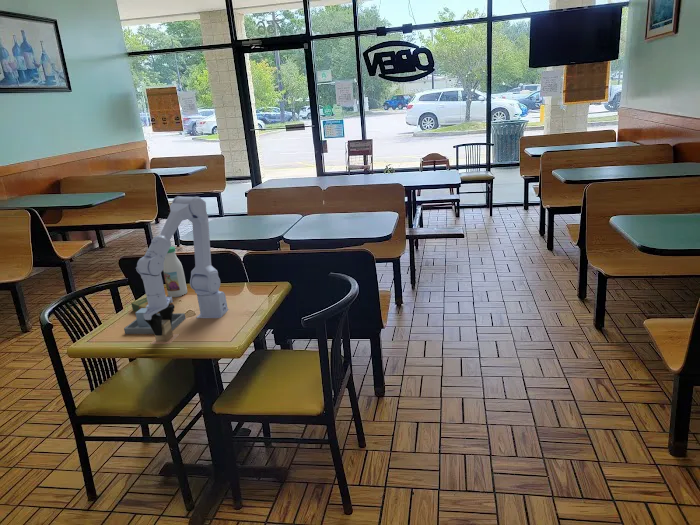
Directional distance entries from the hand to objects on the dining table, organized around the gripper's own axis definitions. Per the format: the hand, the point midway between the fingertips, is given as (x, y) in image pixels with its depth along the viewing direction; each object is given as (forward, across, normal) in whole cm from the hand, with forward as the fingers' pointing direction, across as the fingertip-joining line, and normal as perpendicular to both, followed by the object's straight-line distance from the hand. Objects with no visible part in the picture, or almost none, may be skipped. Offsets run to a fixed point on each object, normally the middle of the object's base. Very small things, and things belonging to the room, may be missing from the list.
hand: (163, 330), depth 172 cm
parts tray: (+3, -10, -9) cm, 14 cm away
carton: (+4, -24, -18) cm, 30 cm away
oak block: (+3, 0, 0) cm, 3 cm away
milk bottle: (+4, -42, -17) cm, 45 cm away
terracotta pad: (+3, 0, 0) cm, 3 cm away
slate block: (+3, -10, -12) cm, 16 cm away
